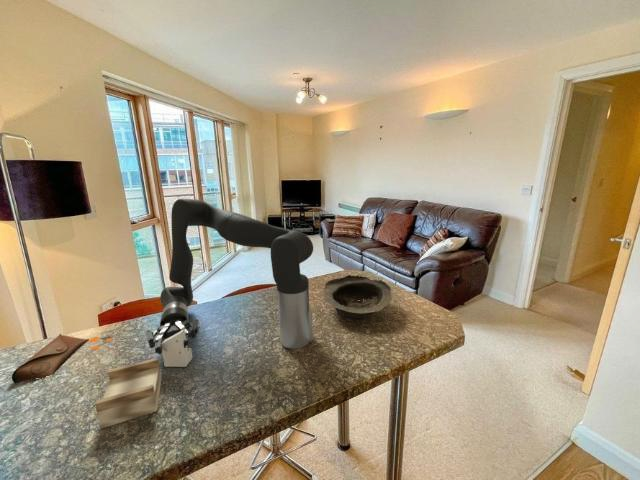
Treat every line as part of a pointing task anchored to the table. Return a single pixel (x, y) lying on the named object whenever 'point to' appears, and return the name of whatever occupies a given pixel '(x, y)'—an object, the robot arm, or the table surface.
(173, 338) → the white angled block
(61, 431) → the table surface
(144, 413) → the wooden step block
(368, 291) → the stone bowl
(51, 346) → the sunglasses case
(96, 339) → the key chain
